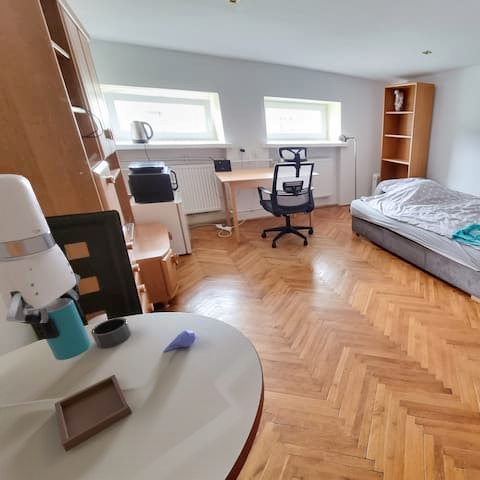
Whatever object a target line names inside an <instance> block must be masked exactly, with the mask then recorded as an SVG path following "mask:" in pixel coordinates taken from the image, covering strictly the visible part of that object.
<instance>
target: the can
mask: <svg viewBox="0 0 480 480" xmlns="http://www.w3.org/2000/svg"><path fill="white" fill-rule="evenodd" d="M47 310H48V319H52V320H53V321H54V323H55V325H56V327H57V330H58V332H59V334H60V336H59V337H57V338H52V339H45V341H46V343H47V344H48V347H49V348H50V351H51V353H52V354H53V356H54V358H55V360H57V361H66V360H70V359H73V358H76V357H78V356H80V355H82V354H83V353H85V352H87V351H88V350H89V349H90V348H91V347H92V341H91V339H90V337H89V335H88V332H87V330H86V327H85V326H84V324H83V321H82V319H81V318H82V317H81V318H80V316H79V314H78V311H77V309H76V307H75V304H74V302H73V300H72V299H69V298H62V299H58V298H57V299H56V300H54V301H53V302H51V303H50V304H48V305H47ZM34 315H37V316H39V314H38V310H34Z"/></svg>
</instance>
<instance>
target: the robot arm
mask: <svg viewBox="0 0 480 480" xmlns="http://www.w3.org/2000/svg"><path fill="white" fill-rule="evenodd" d="M80 280H81V276H80V275H78V274H77V273H74V271H73V268H72V266H71V265H70V262H69V261H68V259H67V256H66V255H65V253H64V252H63V250H61V247H60V246H59V245H58V244H57V243H56V241H55V239H54V237H53V234H52V232H51V229H50V227H49V225H48V222H47V220H46V218H45V215H44V213H43V211H42V208H41V206H40V204H39V201H38V199H37V196H36V194H35V191H34V190H33V188H32V185H31V182H30V180H28V179H27V178H26V177H24V176H23V175H20V174H15V173H14V174H12V173H9V174H8V173H4V174H2V173H1V174H0V296H1V299H2V301H3V303H4V305H5V307H6V309H7V310H8V311H7V315H6V317H5V318H6V319H5V320H6V321H7V322H12V323H13V322H14V323H21V324H26V325H30V326H31V327H32V329H33V331H34V333H35V335H36V337H37V339H38V340H41V341H42V340H46V339H52V338H57V337H59V336H60V334H59V332H58V330H57V327H56V325H55V323H54V321H53V320H52V319H48V310H47V305H48V304H50V303H51V302H53V301H54V300H56V299H62V298H69V299H72V300H73V302H74V304H75V307H76V309H77V311H78V314H79V316H80V318H83V317H84V312H83V309H82V307H81V305H80V303H79V301H78V300H79V297H80V296H79V294H78V291H79V284H80ZM34 310H38V314H39V316H37V315H34Z"/></svg>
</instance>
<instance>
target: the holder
mask: <svg viewBox="0 0 480 480" xmlns="http://www.w3.org/2000/svg"><path fill="white" fill-rule="evenodd" d="M90 334H91V337H92V339H93V341H94V344H95V346H96V347H97V348H98V349H110V348H114V347H116V346H119V345H120V344H122V343H124V342H126V341H127V340H128V339H130V337H131V335H132V330H131V327H130V325H129V322H128V320H127V318H125V317H114V318H110V319H107V320H105V321H102V322H100V323H98V324H97V325H95V326H94V327H93V328H92V329H91V331H90Z"/></svg>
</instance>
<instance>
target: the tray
mask: <svg viewBox="0 0 480 480" xmlns="http://www.w3.org/2000/svg"><path fill="white" fill-rule="evenodd" d="M54 410H55V415H56V421H57V425H58V429H59V435H60V440H61V445H62V447H63V449H64V450H65V452H67V451H70V450H71V449H73V448H74V447H76V446H79V445H80V444H82V443H84V442H85V441H86V440H88V439H90V438H92V437H94V436H95V435H97V434H99V433H100V432H102V431H104V430H106V429H107V428H109V427H111V426H113V425H114V424H116V423H118V422H119V421H121V420H123V419H125V418H127V417H128V416H130V415H131V414H133V411H132V409H131V406H130V404H129V402H128V399H127V398H126V396H125V393H124V391H123V389H122V387H121V384H120V382H119V380H118V378H117V375H116V374H112V375H110V376H108V377H105V378H104V379H102V380H100V381H98V382H95V383H94V384H92V385H89V386H88V387H85V388H83V389H81V390H79V391H77V392H75V393H73V394H71V395H69V396H66V397H65V398H63V399H61V400H58V401H57V402H54Z"/></svg>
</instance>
